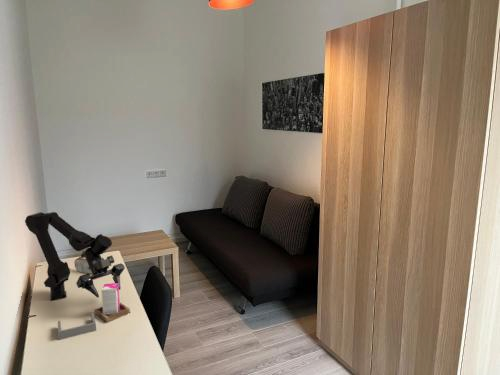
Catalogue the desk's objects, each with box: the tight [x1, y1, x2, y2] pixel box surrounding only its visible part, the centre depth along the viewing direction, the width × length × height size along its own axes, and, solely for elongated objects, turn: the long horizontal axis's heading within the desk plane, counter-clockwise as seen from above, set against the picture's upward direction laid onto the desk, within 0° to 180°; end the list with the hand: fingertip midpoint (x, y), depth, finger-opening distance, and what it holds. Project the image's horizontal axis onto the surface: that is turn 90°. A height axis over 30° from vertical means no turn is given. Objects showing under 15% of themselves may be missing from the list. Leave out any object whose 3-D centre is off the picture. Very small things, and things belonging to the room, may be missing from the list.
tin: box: [74, 256, 93, 275], centre depth 193 cm, size 15×3×8 cm, turn 71°
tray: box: [94, 302, 131, 324], centre depth 152 cm, size 10×10×2 cm
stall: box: [57, 312, 97, 340], centre depth 141 cm, size 9×13×3 cm
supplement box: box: [101, 282, 121, 316], centre depth 151 cm, size 6×6×12 cm
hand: (109, 293), depth 151 cm, fingers open, 9 cm apart
